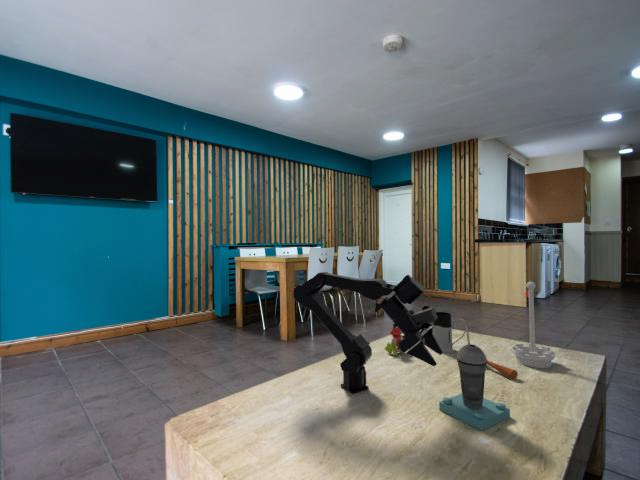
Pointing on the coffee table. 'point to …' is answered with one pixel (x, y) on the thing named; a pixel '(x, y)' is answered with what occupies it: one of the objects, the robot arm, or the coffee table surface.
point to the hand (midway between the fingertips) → (438, 359)
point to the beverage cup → (472, 374)
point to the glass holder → (444, 331)
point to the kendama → (504, 370)
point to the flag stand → (533, 341)
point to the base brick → (475, 412)
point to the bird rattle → (394, 341)
